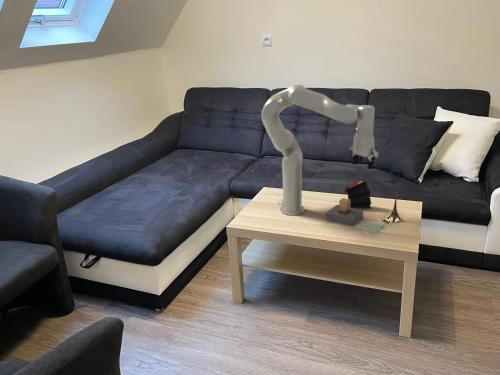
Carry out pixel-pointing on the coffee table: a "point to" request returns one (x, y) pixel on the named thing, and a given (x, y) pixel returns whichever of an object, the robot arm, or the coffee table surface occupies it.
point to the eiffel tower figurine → (393, 214)
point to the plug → (344, 206)
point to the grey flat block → (344, 216)
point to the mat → (369, 226)
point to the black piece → (359, 195)
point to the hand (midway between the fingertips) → (362, 166)
